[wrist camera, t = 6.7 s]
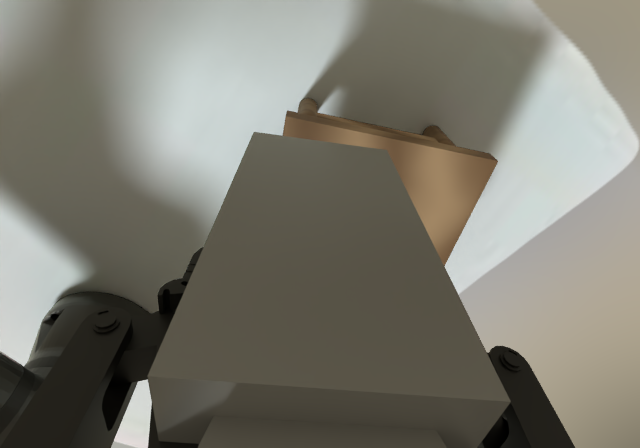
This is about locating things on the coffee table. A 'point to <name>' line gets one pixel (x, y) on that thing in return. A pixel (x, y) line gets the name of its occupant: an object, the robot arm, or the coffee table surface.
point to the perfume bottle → (321, 316)
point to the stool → (411, 167)
